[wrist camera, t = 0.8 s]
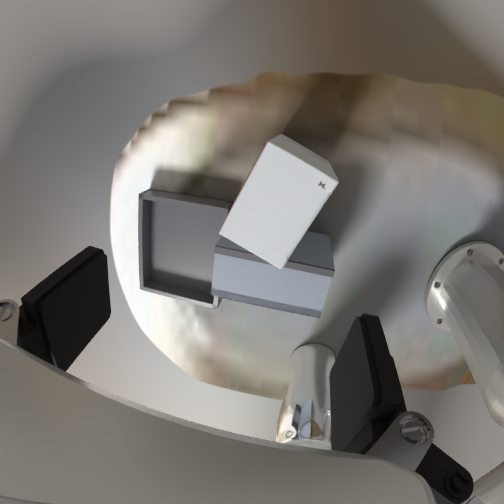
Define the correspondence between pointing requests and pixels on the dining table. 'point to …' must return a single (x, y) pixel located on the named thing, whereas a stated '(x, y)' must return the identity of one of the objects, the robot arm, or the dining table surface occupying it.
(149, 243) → the tray
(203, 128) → the dining table surface
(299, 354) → the beer glass
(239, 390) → the dining table surface
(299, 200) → the small box
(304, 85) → the dining table surface
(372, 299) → the dining table surface
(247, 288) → the grey rectangular block
